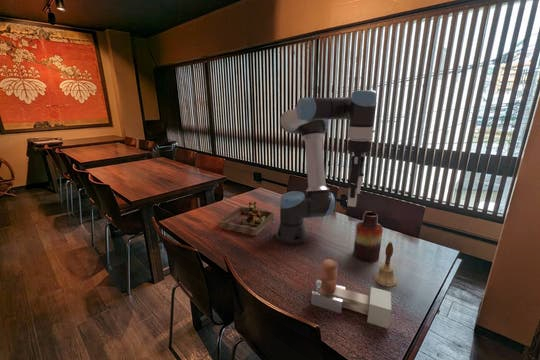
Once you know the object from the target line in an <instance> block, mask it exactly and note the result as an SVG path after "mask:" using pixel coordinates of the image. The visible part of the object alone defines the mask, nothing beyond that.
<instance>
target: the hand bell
mask: <svg viewBox="0 0 540 360" xmlns="http://www.w3.org/2000/svg"><path fill="white" fill-rule="evenodd" d="M393 253H394V245H393V242H391V241H389V242H388V244H387V245H386V247H385V261H384V264H383V263H382V264H381V265H380V267H379V270H378V271H377V272H375V273H374V275H373V279H374V281H375V282H376V283H377V284H379V285H381V286H383V287H390V288H391V287H395V286H396V285H397V284H398V280H397V278H396V277H395V275H394V268H393V267H392V266H391V258H392V256H393Z"/></svg>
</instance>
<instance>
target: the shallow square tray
mask: <svg viewBox="0 0 540 360" xmlns="http://www.w3.org/2000/svg"><path fill="white" fill-rule="evenodd" d="M248 210H250V209H249V206H242V205H240V206H239V207H237V208H236V209H235V210H233V211H231V212H230V213H229V214H228V215H226V216H225V217H224V218H222V219H221V220H219V221H218V224H219V228H220V227H222V228H226V229H230V230H234V231H233V232H235V231H238V232H237V233H239V232H243V233H242V234H244V233H247V234H246V235H248V234H250V235H249V236H253V235H255V236H254V237H258V236H259V235H260V234H261V233H262V232H263V231H264V230H265V229H266V228H267V227H266V226H267V225H268V226H269V225H270V223H272V221H273V220H274V219H275V212H274V211H271V210H270V211H269V210H264V209H259V208H258V210H259V212H260V213H261V216H265V217H267V218H265V220H264V221H263V222H262V223H261V224H260V225H259V226H258V227H257V228H252V227H247V226H244V225H243V224H242V225H241V224H237V223H232V222H231V221H232V220H231V219H232V218H234V217H235V216H236V215H238V214H239V213H240V212H246V213H248ZM239 215H240V214H239ZM239 215H238V216H239ZM235 218H236V217H235ZM235 218H234V219H235ZM273 218H274V219H273ZM272 219H273V220H272ZM230 220H231V221H230ZM229 221H230V222H229ZM265 227H266V228H265ZM222 228H221V229H222ZM264 228H265V229H264ZM226 229H225V230H226ZM263 229H264V230H263ZM230 230H229V231H230ZM262 230H263V231H262ZM261 231H262V232H261ZM260 232H261V233H260ZM259 233H260V234H259ZM258 234H259V235H258ZM257 235H258V236H257Z"/></svg>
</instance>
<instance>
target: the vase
mask: <svg viewBox="0 0 540 360" xmlns="http://www.w3.org/2000/svg"><path fill="white" fill-rule="evenodd" d="M378 216H379V215H378V213H376V212H373V211H365V212H364V213H363V217H362V220H360V221H358V222H357V223H356V225H355V234H354V243H353V255H354V256H353V257H355V258H356V259H357V260H359V261H361V262H364V263H376V262H378V261H379V259H380V253H381V246H382V240H383V232H384V231H383V230H384V228H383V226H382V225H381V224H380V223H378V221H379V220H378V219H379V217H378Z"/></svg>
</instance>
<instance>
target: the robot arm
mask: <svg viewBox="0 0 540 360" xmlns="http://www.w3.org/2000/svg"><path fill="white" fill-rule="evenodd" d="M377 104H378V103H377V91H376V90H374V89H373V90H372V89H368V90H367V89H364V90H363V89H362V90H353V92H352V93H351V97H348V96H347V97H340V96H339V97H312V96H308V97H301V98H299V99H298V100H297V103H296V107H294V108H293V109H289V110H285V111H284V112H283V113H282V114H281V115H280V118H279V125H280V127H281V129H282V130H283V131H284V132H287V133H289V134H293V135H294V134H295V135H296V134H297V135H301V139H302V140H303V141H304V145H305V146H304V148H305V160H306V171H307V173H306V174H307V184H308V186H307V189H306V190H305V193H304V192H303V191H296V190H295V191H294V190H292V191H287V192H285V193H283V194H282V196H281V197H280V203H279V208H280V209H279V212H280V213H279V214H280V215H279V219H280V220H279V221H280V222H279V225H278V228H277V230H276V239H277V241H279V242H280V243H282V244H285V245H293V246H294V245H300V244H303V243H304V242H306V240H307V236H308V235H307V230H306V228H305V224H304V220H305V219H311V218H312V219H313V218H324V217H329V216H331V215H332V214H333V213H334V211H335V205H336V200H335V195H334V193H332V192H330V188H329V187H328V186H327V184H326V173H325V163H324V162H325V160H324V148H323V138H324V137H325V134H326V133H327V131H328V129H329V121H330V120H334V121H335V120H349V121H348V122H349V124H348V130H347V131H348V132H347V138H348V140H347V146H346V149H347V151H348V152H351V153H353V155H352V156H351V159H350V162H351V163H350V174H349V181H348V184H346V188H348V194H347V204H346V205H347V207H353V208H354V207H355V208H356V206H357V199H358V194H361V187H362V186H361V185H362V177H364V174H365V173H363V166H364V162H365V157H366V156H364V154H365V153H367V154H368V153H370V152H371V151H372V145H373V144H372V139H373V134H374V133H375V132H376V130H375V129H374V123H375V117H376V109H377Z"/></svg>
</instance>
